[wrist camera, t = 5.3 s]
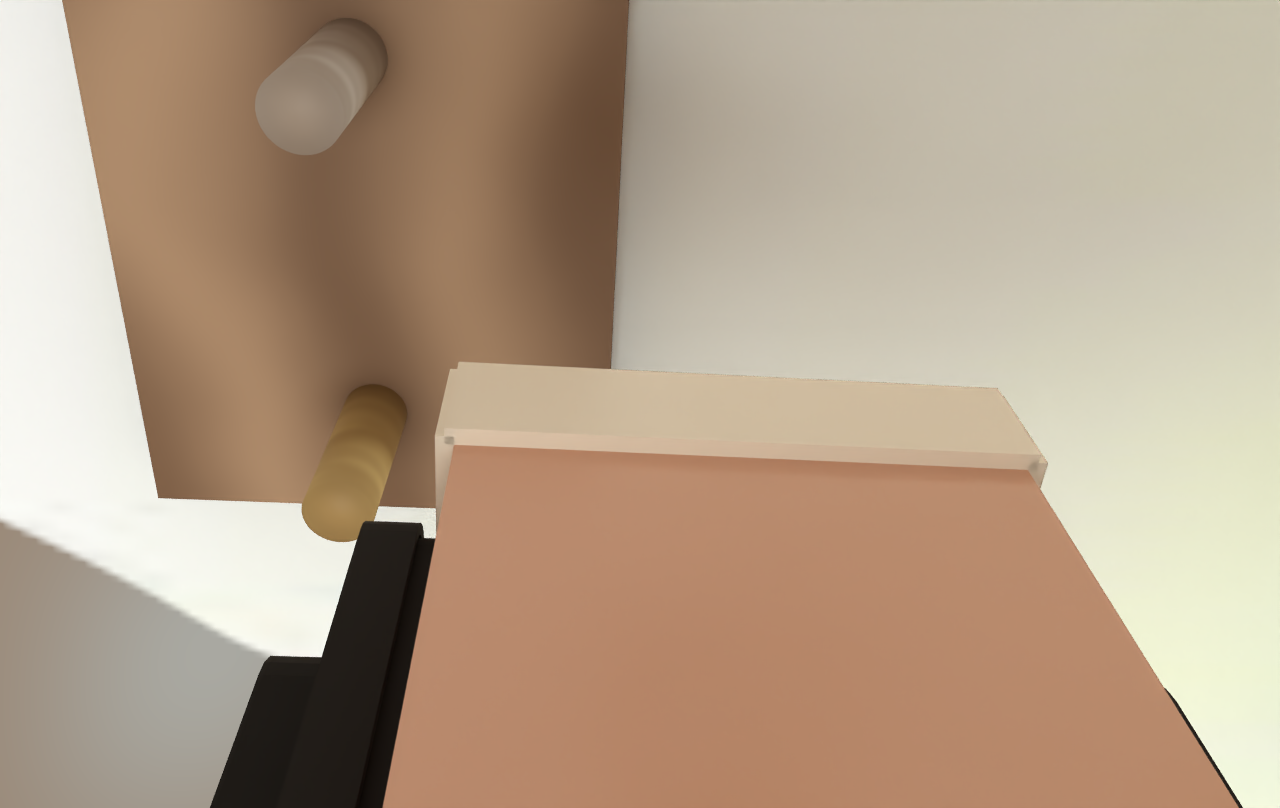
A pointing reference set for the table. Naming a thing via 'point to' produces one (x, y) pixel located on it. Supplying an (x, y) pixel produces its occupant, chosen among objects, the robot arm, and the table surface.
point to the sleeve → (765, 607)
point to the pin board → (347, 224)
